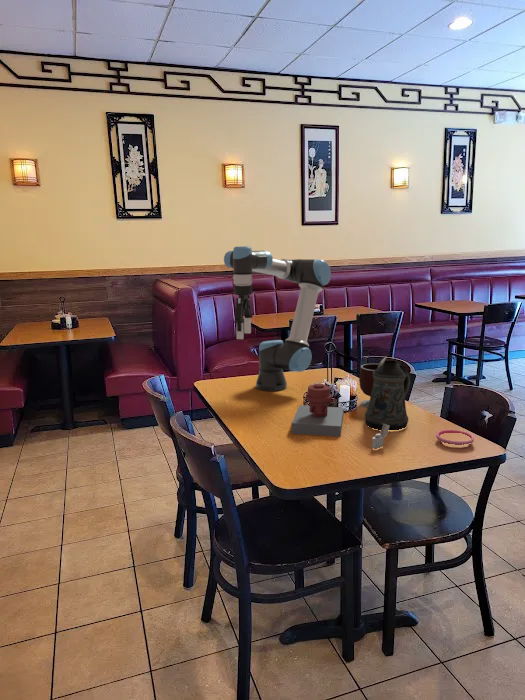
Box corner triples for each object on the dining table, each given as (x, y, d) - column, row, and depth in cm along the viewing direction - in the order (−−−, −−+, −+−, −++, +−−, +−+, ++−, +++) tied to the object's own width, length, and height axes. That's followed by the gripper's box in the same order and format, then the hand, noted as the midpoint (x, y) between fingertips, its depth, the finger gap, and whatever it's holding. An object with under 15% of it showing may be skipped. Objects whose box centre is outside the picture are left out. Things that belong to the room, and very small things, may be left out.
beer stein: (359, 428, 195) (361, 364, 190) (371, 413, 213) (373, 354, 208) (403, 435, 188) (407, 369, 183) (412, 419, 206) (416, 358, 201)
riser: (299, 414, 212) (299, 405, 211) (343, 417, 209) (343, 407, 208) (291, 433, 191) (291, 423, 190) (340, 436, 188) (340, 426, 187)
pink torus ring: (428, 440, 184) (428, 432, 183) (455, 435, 189) (455, 427, 188) (453, 453, 173) (454, 444, 172) (481, 447, 177) (482, 438, 177)
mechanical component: (305, 410, 204) (331, 411, 203) (305, 419, 195) (331, 419, 193) (306, 380, 202) (331, 381, 201) (305, 387, 192) (332, 388, 191)
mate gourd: (381, 412, 214) (383, 365, 210) (352, 405, 223) (353, 361, 219) (398, 403, 226) (400, 359, 222) (370, 397, 234) (371, 354, 230)
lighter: (375, 451, 174) (376, 428, 173) (371, 449, 176) (372, 427, 174) (388, 446, 179) (389, 424, 177) (385, 444, 180) (385, 422, 178)
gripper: (241, 282, 223) (242, 330, 227) (225, 287, 199) (227, 341, 203) (258, 282, 221) (258, 331, 225) (244, 287, 197) (245, 341, 202)
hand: (243, 336), depth 214 cm, fingers open, 13 cm apart
